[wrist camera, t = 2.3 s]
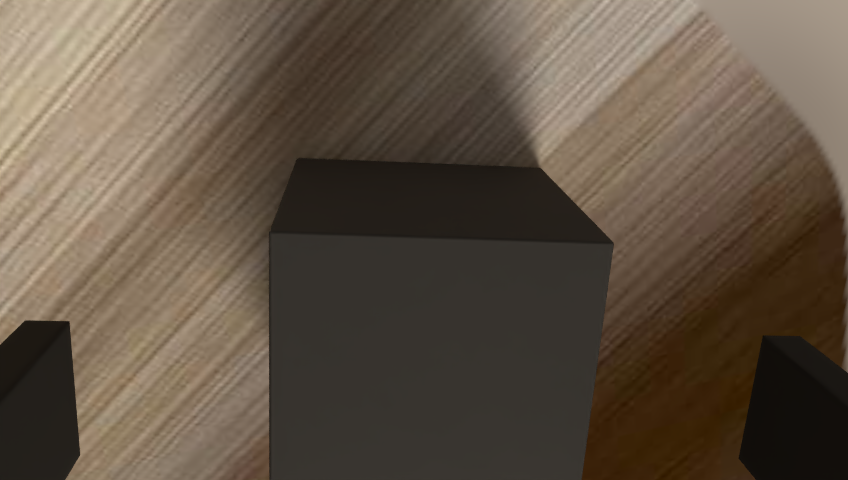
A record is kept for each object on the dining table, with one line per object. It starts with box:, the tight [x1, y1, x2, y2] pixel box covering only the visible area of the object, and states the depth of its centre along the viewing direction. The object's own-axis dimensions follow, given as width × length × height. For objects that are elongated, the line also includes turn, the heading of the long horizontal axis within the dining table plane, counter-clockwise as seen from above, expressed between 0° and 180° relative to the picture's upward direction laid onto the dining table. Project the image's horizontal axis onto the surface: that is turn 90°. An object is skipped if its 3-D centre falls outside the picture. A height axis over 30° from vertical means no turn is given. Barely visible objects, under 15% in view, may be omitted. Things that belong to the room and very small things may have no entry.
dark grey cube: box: [269, 158, 614, 480], centre depth 17 cm, size 6×6×6 cm
